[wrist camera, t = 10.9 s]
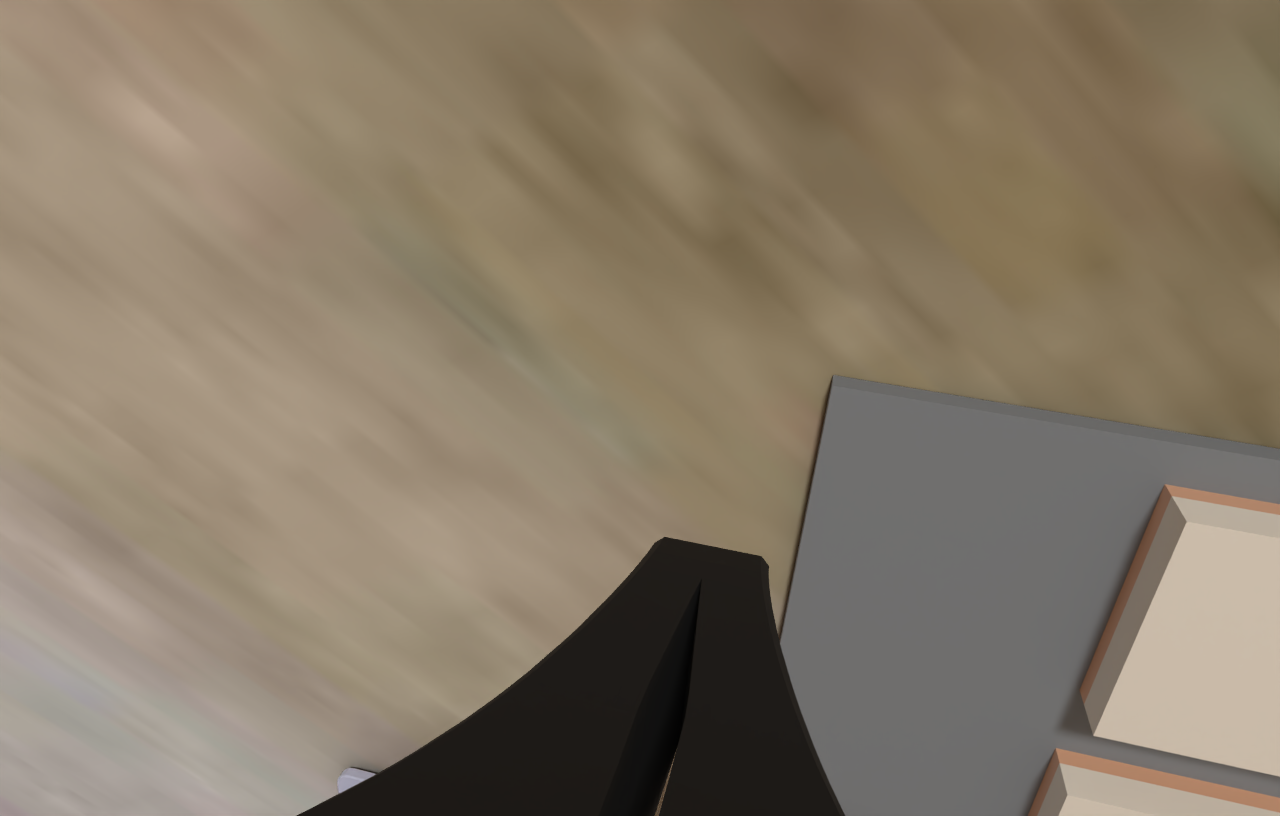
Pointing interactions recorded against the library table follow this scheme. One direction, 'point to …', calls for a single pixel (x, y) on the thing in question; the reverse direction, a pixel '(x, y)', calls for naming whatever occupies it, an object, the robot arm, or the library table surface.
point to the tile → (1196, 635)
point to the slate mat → (976, 591)
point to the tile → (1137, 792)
